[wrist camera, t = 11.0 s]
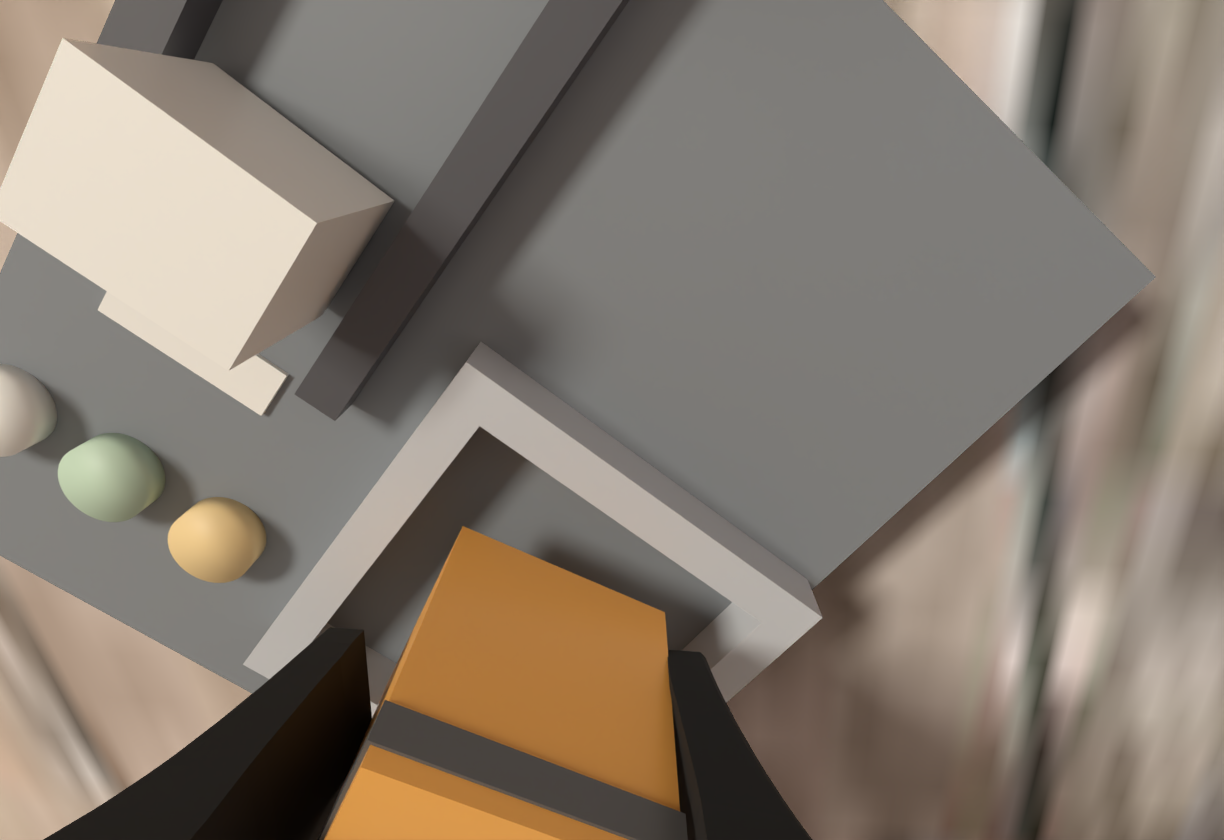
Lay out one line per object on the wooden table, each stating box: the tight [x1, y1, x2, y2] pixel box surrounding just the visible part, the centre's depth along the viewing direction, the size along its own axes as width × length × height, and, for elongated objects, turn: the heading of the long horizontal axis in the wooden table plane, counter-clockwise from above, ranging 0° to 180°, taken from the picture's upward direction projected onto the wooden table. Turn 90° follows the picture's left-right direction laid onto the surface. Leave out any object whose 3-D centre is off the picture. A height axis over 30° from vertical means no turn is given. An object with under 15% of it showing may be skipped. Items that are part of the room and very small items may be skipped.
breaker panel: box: [0, 0, 1155, 717], centre depth 13 cm, size 16×18×3 cm
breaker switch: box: [0, 38, 394, 371], centre depth 10 cm, size 3×2×3 cm
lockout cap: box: [317, 526, 688, 840], centre depth 11 cm, size 4×4×5 cm
